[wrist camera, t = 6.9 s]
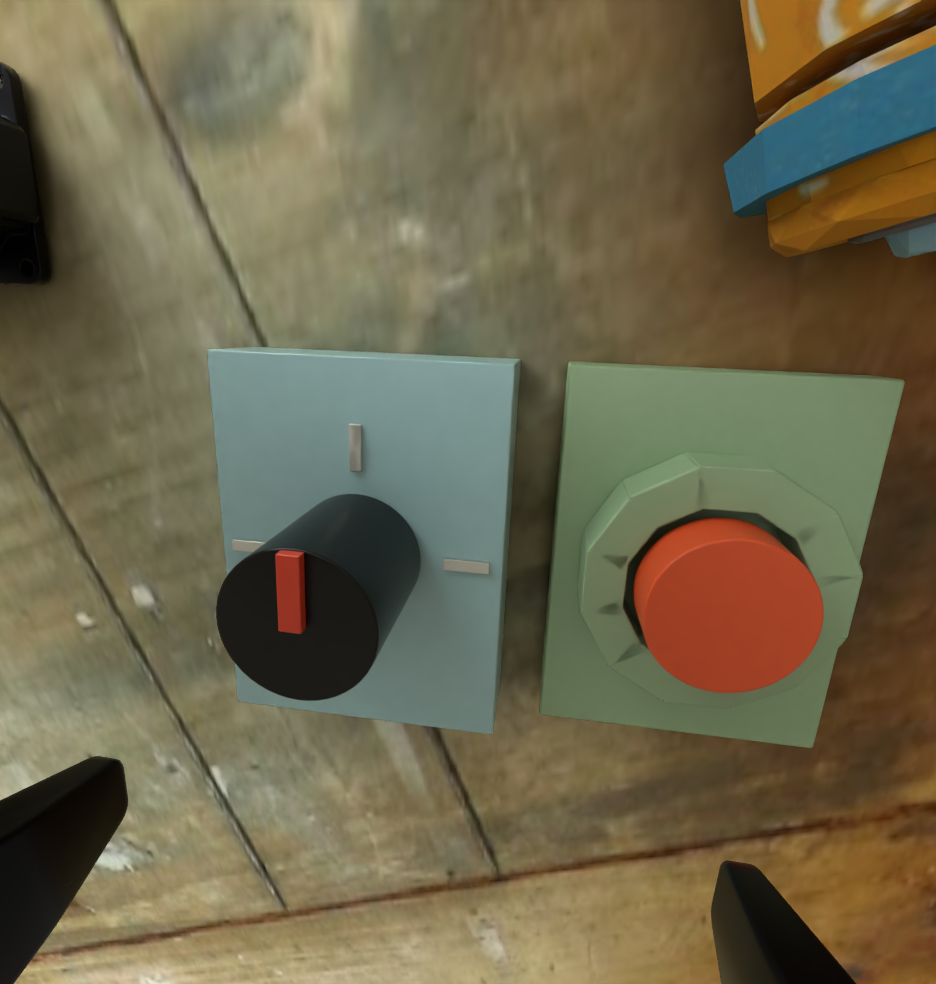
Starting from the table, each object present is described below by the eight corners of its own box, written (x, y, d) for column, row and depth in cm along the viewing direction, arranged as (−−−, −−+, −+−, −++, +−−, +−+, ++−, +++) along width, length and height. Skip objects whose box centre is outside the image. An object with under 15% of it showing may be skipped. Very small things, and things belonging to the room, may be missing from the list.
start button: (624, 649, 17) (632, 684, 15) (643, 510, 16) (653, 531, 14) (779, 666, 16) (805, 703, 15) (811, 523, 15) (843, 547, 13)
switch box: (539, 686, 21) (538, 752, 18) (568, 361, 18) (572, 367, 15) (792, 715, 20) (840, 792, 17) (872, 375, 17) (952, 385, 13)
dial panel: (276, 655, 23) (234, 704, 20) (257, 346, 19) (202, 349, 16) (500, 681, 21) (492, 738, 18) (520, 359, 18) (514, 364, 15)
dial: (418, 621, 18) (373, 721, 13) (298, 605, 18) (213, 697, 14) (423, 500, 17) (375, 563, 12) (294, 487, 17) (200, 544, 13)
